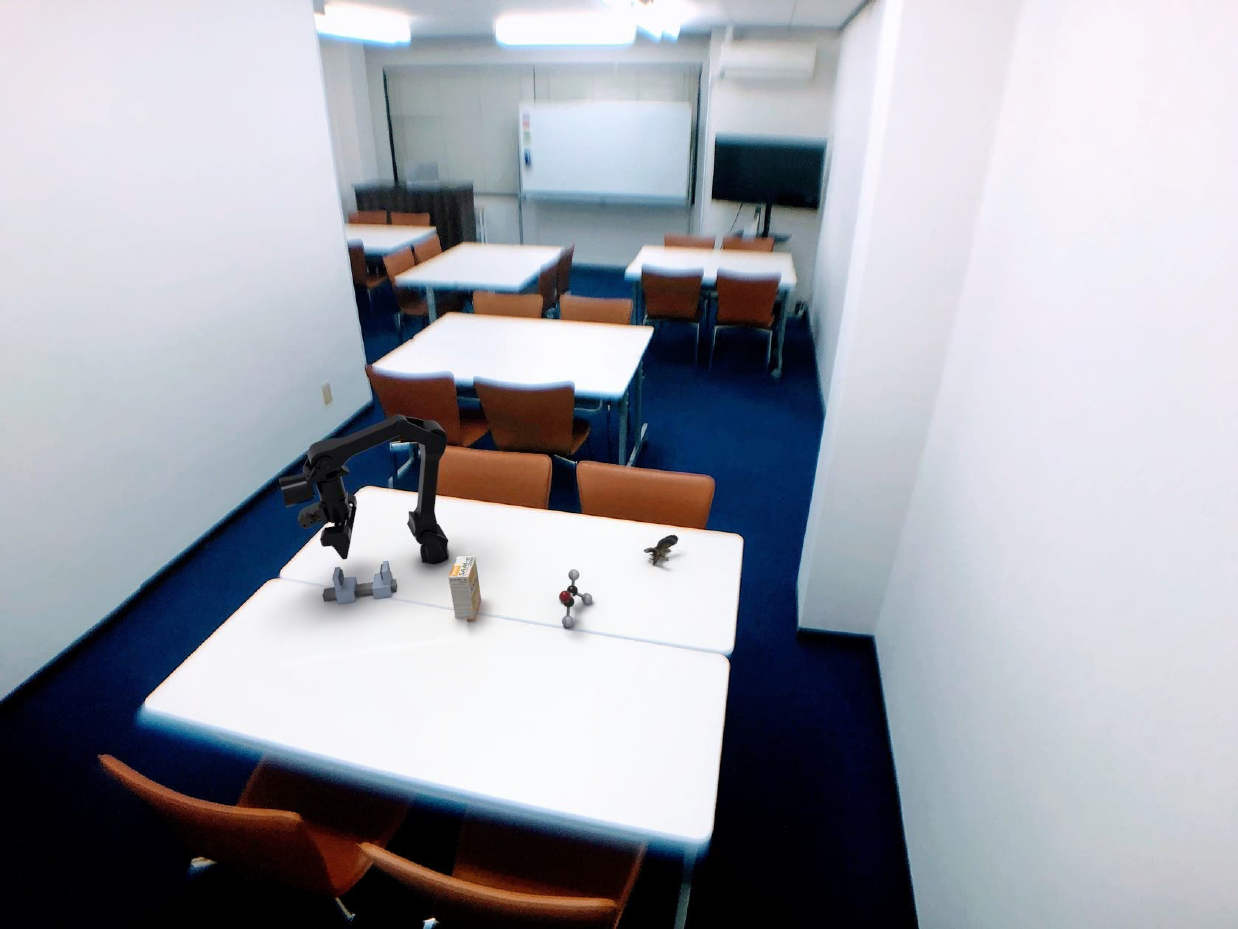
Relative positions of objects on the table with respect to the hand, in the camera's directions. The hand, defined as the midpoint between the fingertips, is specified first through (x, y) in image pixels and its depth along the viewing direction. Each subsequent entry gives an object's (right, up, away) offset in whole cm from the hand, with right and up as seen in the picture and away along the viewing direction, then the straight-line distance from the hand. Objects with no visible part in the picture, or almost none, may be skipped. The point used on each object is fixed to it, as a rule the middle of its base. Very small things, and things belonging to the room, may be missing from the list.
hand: (347, 548), depth 169 cm
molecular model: (+56, -15, -5) cm, 58 cm away
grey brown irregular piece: (+78, -5, +14) cm, 79 cm away
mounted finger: (+8, -11, +2) cm, 14 cm away
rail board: (+3, -12, +2) cm, 13 cm away
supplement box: (+31, -15, -3) cm, 34 cm away
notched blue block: (0, -12, +1) cm, 12 cm away
